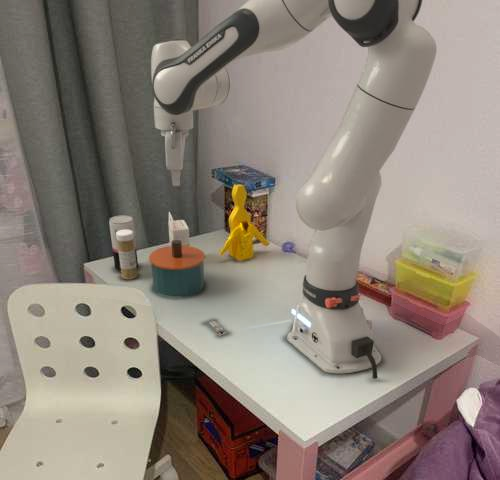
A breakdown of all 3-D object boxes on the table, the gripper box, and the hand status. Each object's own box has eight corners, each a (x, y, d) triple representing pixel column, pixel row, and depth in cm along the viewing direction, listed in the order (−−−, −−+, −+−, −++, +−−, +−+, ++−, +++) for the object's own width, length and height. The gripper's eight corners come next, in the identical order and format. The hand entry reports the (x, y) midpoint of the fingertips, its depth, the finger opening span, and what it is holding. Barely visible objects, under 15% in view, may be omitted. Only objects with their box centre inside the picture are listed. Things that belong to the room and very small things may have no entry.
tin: (209, 294, 130) (209, 265, 126) (159, 301, 126) (156, 271, 122) (197, 273, 141) (196, 245, 137) (149, 279, 137) (147, 251, 133)
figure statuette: (222, 267, 145) (222, 194, 134) (210, 258, 151) (209, 187, 140) (272, 256, 153) (276, 186, 142) (259, 247, 159) (261, 179, 148)
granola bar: (205, 324, 117) (205, 321, 117) (213, 322, 119) (213, 318, 118) (219, 337, 113) (219, 333, 112) (228, 335, 114) (228, 331, 113)
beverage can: (111, 267, 143) (104, 218, 135) (130, 261, 147) (125, 213, 139) (122, 275, 139) (116, 224, 131) (142, 268, 143) (137, 219, 135)
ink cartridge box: (191, 266, 145) (189, 219, 137) (174, 268, 144) (171, 220, 136) (185, 255, 152) (183, 209, 145) (169, 257, 151) (167, 210, 143)
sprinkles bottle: (133, 272, 141) (128, 227, 134) (140, 277, 138) (136, 232, 131) (118, 276, 138) (112, 231, 132) (125, 281, 135) (120, 236, 128)
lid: (211, 267, 126) (211, 249, 123) (154, 274, 121) (153, 255, 119) (197, 246, 138) (196, 229, 135) (145, 252, 133) (143, 234, 131)
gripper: (187, 127, 104) (189, 192, 111) (188, 113, 121) (190, 169, 128) (157, 127, 103) (161, 192, 110) (162, 113, 121) (166, 169, 128)
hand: (177, 179), depth 119 cm, fingers open, 8 cm apart
